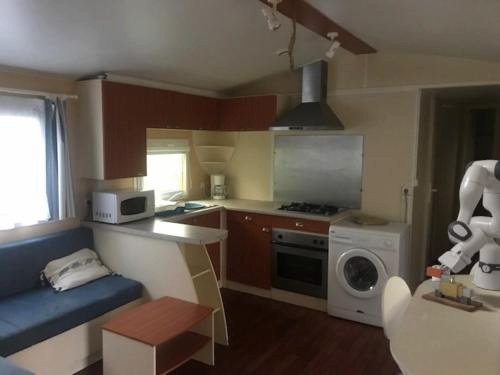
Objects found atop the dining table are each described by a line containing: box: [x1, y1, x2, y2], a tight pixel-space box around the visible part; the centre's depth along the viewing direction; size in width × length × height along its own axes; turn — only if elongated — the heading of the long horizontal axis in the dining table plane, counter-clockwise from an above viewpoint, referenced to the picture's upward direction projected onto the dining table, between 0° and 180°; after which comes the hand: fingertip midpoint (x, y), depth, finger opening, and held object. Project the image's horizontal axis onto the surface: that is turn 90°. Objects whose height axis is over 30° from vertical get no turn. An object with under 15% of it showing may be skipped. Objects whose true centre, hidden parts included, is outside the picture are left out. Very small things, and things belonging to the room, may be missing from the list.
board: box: [421, 290, 484, 313], centre depth 199 cm, size 14×23×2 cm, turn 38°
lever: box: [426, 266, 456, 283], centre depth 202 cm, size 13×3×5 cm, turn 39°
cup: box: [431, 264, 451, 282], centre depth 220 cm, size 9×9×12 cm
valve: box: [432, 279, 474, 305], centre depth 198 cm, size 6×18×8 cm, turn 38°
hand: (439, 272), depth 207 cm, fingers closed
